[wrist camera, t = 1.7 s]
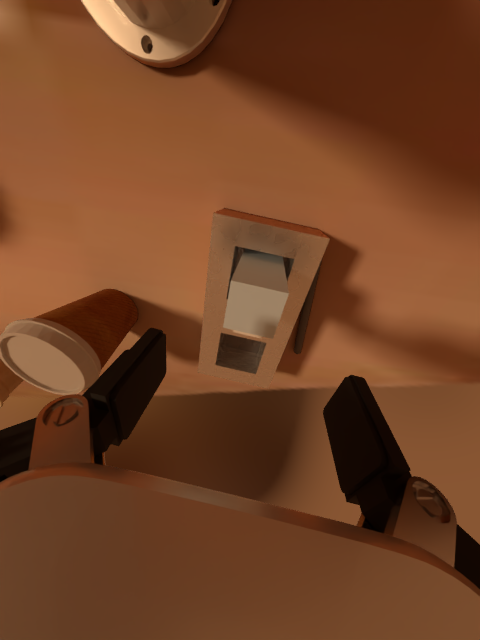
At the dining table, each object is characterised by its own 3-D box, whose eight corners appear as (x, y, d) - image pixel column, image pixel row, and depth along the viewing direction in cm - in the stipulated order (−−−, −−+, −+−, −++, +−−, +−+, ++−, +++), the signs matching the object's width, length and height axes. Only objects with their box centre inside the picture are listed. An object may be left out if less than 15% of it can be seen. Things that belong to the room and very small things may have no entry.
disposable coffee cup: (152, 338, 33) (100, 404, 23) (95, 328, 33) (19, 389, 23) (144, 283, 27) (71, 338, 17) (76, 272, 28) (-33, 319, 18)
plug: (246, 245, 22) (230, 280, 14) (282, 253, 22) (289, 293, 14) (238, 284, 25) (221, 333, 16) (270, 291, 24) (270, 344, 16)
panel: (224, 208, 21) (213, 212, 17) (318, 229, 21) (330, 238, 17) (207, 348, 32) (197, 372, 28) (268, 362, 32) (268, 388, 28)
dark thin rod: (314, 246, 22) (315, 248, 21) (323, 246, 22) (325, 248, 21) (293, 350, 30) (293, 355, 29) (300, 351, 30) (300, 355, 29)
